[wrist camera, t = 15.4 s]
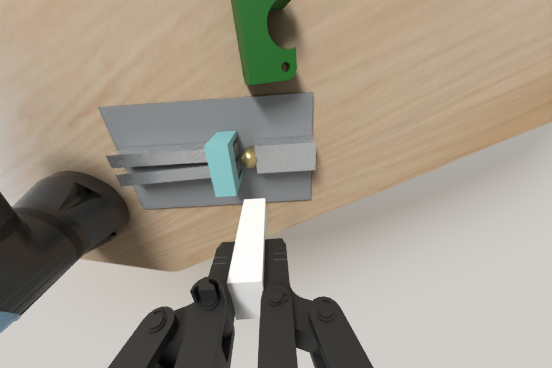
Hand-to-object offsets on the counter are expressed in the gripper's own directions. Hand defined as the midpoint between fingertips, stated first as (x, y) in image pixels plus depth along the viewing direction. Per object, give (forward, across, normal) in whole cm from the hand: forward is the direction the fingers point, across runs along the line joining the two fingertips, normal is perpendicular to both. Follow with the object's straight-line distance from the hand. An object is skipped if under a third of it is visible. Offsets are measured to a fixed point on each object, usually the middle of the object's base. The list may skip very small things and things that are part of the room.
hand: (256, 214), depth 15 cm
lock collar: (+20, -6, -2) cm, 21 cm away
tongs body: (+21, -8, -2) cm, 22 cm away
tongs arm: (+20, -14, -4) cm, 25 cm away
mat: (+21, -8, -3) cm, 23 cm away
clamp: (+21, +1, +14) cm, 25 cm away
